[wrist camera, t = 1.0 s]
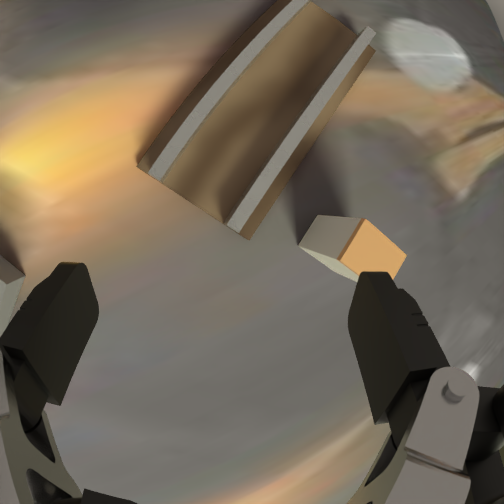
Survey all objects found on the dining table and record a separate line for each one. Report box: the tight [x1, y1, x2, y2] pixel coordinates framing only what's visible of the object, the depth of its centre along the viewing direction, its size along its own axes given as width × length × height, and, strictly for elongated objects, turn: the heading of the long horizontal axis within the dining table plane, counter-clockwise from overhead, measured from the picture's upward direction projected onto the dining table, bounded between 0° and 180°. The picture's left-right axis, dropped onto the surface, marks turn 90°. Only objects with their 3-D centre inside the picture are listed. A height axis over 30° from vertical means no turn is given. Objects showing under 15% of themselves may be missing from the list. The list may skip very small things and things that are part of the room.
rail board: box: [137, 0, 376, 240], centre depth 26 cm, size 12×26×4 cm, turn 145°
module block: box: [298, 215, 407, 282], centre depth 27 cm, size 5×4×9 cm
